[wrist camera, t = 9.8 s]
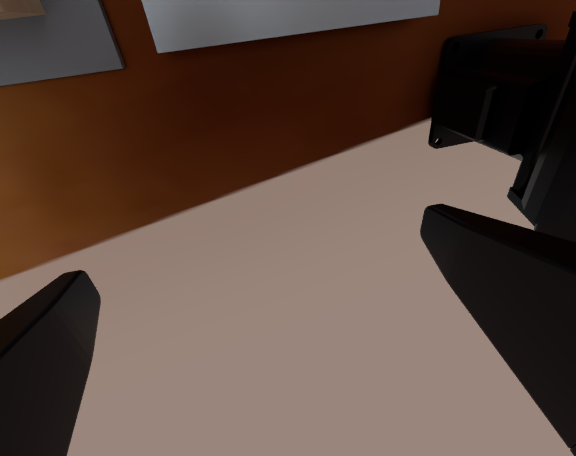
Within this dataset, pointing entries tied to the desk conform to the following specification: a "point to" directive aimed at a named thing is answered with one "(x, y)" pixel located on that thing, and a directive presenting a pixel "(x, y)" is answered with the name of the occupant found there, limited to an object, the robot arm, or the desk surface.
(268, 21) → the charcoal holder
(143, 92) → the desk surface
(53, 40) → the dark gray panel
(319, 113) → the desk surface
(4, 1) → the cream block
